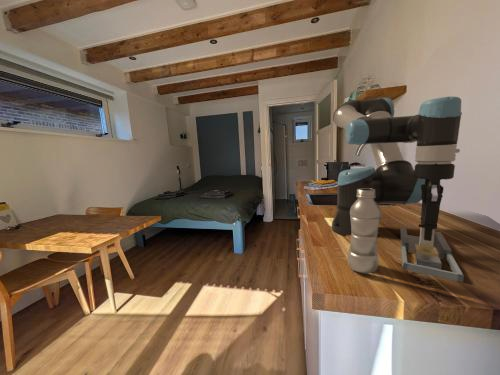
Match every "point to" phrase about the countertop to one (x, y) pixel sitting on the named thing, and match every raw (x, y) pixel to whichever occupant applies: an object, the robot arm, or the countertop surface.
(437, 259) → the steel block
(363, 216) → the plastic bottle
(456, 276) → the grey u-shaped frame
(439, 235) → the channel
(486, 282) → the countertop surface
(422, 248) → the brass block
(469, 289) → the countertop surface
